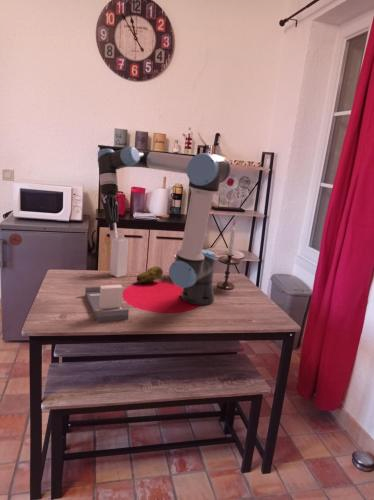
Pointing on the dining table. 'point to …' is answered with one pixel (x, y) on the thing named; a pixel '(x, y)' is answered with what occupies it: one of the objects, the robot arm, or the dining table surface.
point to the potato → (150, 275)
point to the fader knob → (111, 297)
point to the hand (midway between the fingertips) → (113, 238)
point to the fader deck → (99, 314)
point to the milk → (119, 255)
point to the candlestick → (228, 263)
